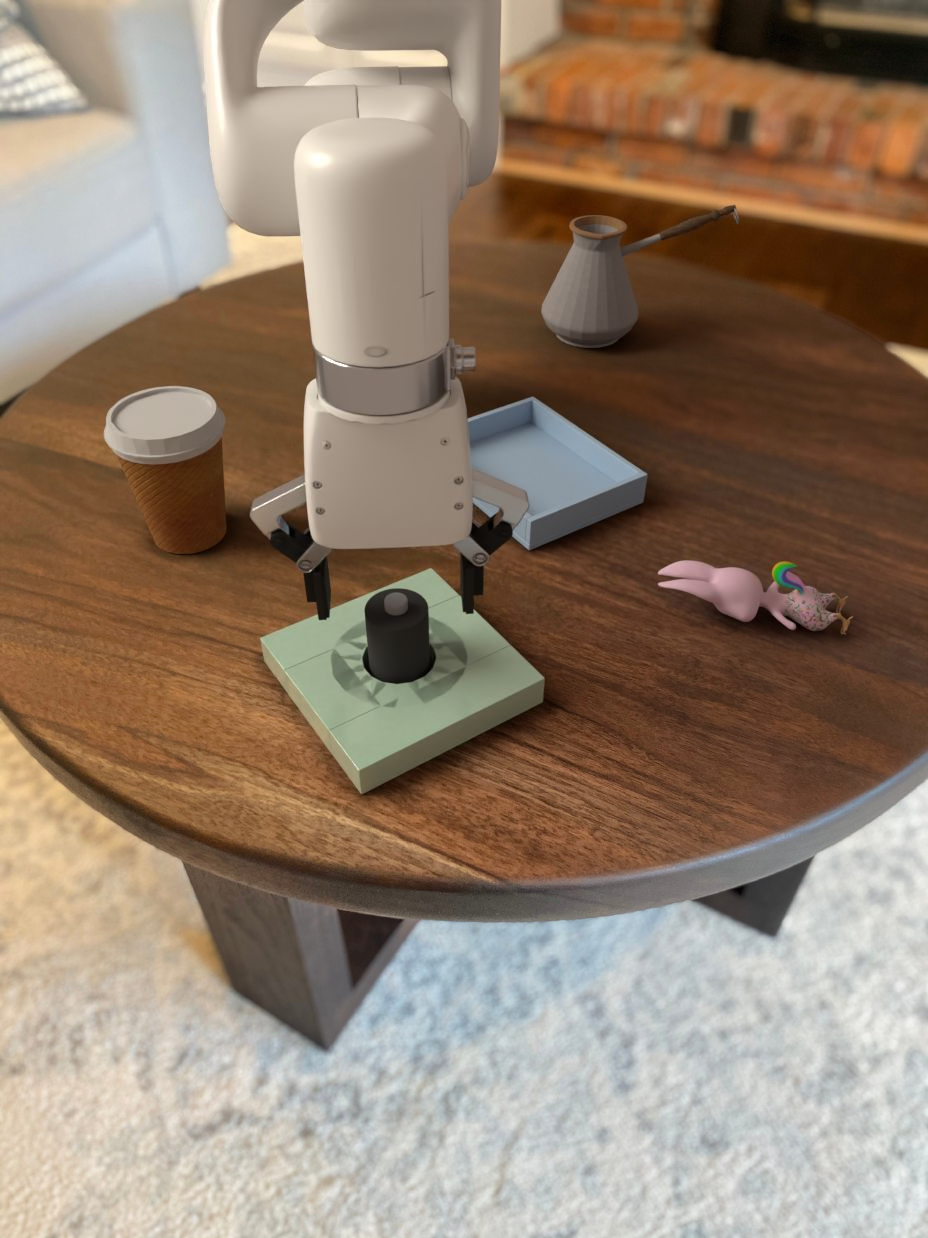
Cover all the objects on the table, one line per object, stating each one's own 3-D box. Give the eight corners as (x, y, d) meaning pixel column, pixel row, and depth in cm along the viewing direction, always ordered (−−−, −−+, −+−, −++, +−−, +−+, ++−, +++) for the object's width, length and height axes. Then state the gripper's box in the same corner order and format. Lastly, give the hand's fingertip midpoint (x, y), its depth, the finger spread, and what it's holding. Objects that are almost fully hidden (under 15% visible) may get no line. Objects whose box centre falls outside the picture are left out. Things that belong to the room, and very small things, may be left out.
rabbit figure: (828, 610, 78) (651, 569, 78) (860, 555, 74) (674, 512, 74) (839, 662, 73) (651, 619, 73) (874, 606, 69) (676, 561, 69)
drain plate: (264, 661, 71) (259, 637, 69) (431, 591, 77) (431, 567, 76) (361, 795, 62) (358, 770, 60) (543, 702, 68) (545, 678, 66)
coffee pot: (543, 355, 109) (552, 222, 99) (536, 313, 117) (544, 187, 107) (726, 355, 109) (754, 223, 99) (706, 313, 118) (730, 187, 108)
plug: (359, 675, 70) (351, 593, 65) (410, 653, 72) (406, 571, 66) (390, 712, 67) (384, 629, 62) (441, 687, 69) (440, 605, 64)
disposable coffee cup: (191, 580, 78) (161, 455, 70) (111, 542, 82) (73, 420, 74) (267, 523, 84) (247, 402, 76) (189, 490, 88) (162, 372, 80)
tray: (423, 461, 92) (422, 433, 90) (531, 423, 97) (533, 396, 95) (529, 550, 81) (530, 521, 79) (643, 502, 87) (648, 474, 85)
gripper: (528, 336, 56) (516, 565, 67) (234, 344, 55) (272, 575, 66) (544, 396, 50) (529, 635, 61) (218, 406, 49) (262, 646, 60)
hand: (396, 603), depth 64 cm, fingers open, 9 cm apart
